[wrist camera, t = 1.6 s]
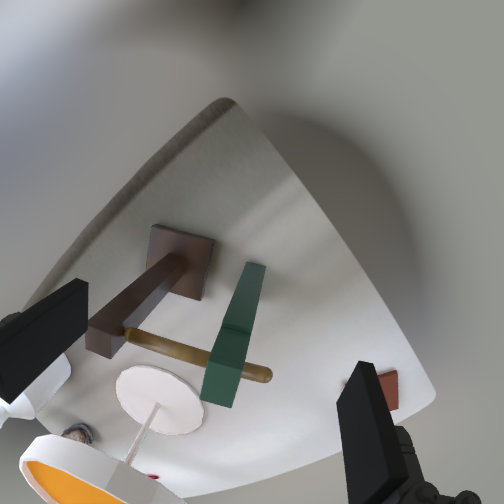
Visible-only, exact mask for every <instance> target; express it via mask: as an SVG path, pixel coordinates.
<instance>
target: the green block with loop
mask: <svg viewBox="0 0 504 504" xmlns="http://www.w3.org/2000/svg"><path fill="white" fill-rule="evenodd" d="M265 268H266V266H262V265H258V264H254V263H251V262H246V265H245V267H244V270H243V272H242V275H241V277H240V280H239V282H238V284H237V287H236V289H235V292H234V294H233V297H232V299H231V302H230V304H229V307H228V309H227V312H226V314H225V316H224V319H223V321H222V326H221V329H220V331H219V333H218V336H217V338H216V341H215V343H214V346H213V348H212V351H211V353H210V356H209V358H208V361H207V366H206V370H205V375H204V380H203V384H202V389H201V394H200V398H199V399H200V400H203V401H206V402H210V403H213V404H217V405H221V406H224V407H228V408H232V404H233V401H234V398H235V395H236V391H237V388H238V385H239V382H240V378H241V375H242V372H243V368H244V363H245V359H246V354H247V350H248V345H249V341H250V336H251V332H252V329H253V324H254V320H255V315H256V310H257V306H258V301H259V296H260V292H261V287H262V282H263V278H264V273H265Z"/></svg>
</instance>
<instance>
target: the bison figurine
mask: <svg viewBox="0 0 504 504" xmlns="http://www.w3.org/2000/svg"><path fill="white" fill-rule="evenodd" d="M63 433H64V434H62V435H61V436H60V437H64V438H67V439H71V440H75V441H79V442H82V443H84V444H85V442H86V443H87V444H88V443H89V444H91V443H93V436H92V433H91V431H90V430H89V429H88V428H87V426H86V425H83V424H78V425H73V426H71V427H69V428H68V429H66V430H64V432H63Z"/></svg>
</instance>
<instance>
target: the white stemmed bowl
mask: <svg viewBox="0 0 504 504" xmlns="http://www.w3.org/2000/svg"><path fill="white" fill-rule="evenodd" d="M116 395H117V397H118V399H119V401H120V403H121V405H122V407H123V408H124V410H125V411H126V412H127V413H128V414H129V415H130V416H131V417H132V418H133V419H134V420H136V421H137V422H139V423H140V424H142V427H141V429H140V431H139V433H138V435H137V436H136V438H135V440H134V442H133V444H132V446H131V448H130V450H129V452H128V454H127V455H126V457H125V459H124V461H121V460H119V459H116V458H114V457H112V456H110V455H107V454H105V453H103V452H101V451H98V450H96V449H94V448H92V447H90V446H88V445H86V444H84V443H82V442H79V441H75V440H71V439H67V438H64V437H60V436H57V435H53V434H50V435H45V436H40V437H36V439H35V440H34V441H33V442H32V444H31V445H30V446H29V447H28V449H27V450H26V451H25V453H24V454H23V455H22V456H21V458H20V465H19V469H20V470H21V472H22V474H23V475H24V477H25V479H26V480H27V482H28V483H29V485H30V486H31V487H32V488H33V489H34V490H35V491H36V492H37V493H38V494H39V495H40V496H41V497H42V498H43V499H44V500H45V501H46V502H47V503H48V504H188V503H186V502H185V501H183V500H182V499H181V498H179V497H178V496H177V495H175V494H174V493H173V492H171V491H170V490H169V489H167V488H166V487H165V486H163V485H162V484H161V483H159V482H158V481H156V480H154V479H152V478H150V477H148V476H146V475H145V474H143V473H141V472H139V471H138V470H136V469H134V468H132V467H131V466H130V465H131V463H132V461H133V459H134V457H135V455H136V453H137V451H138V449H139V447H140V445H141V443H142V441H143V439H144V437H145V435H146V433H147V431H148V429H151V430H154V431H157V432H160V433H163V434H170V435H182V434H186V433H190V432H193V431H194V430H195V429H196V428H197V427H198V426H199V425H200V424H201V423H202V418H203V414H204V408H203V405H202V402H201V400H200V399H199V398H200V397H199V395H198V394H197V393H196V392H195V391H194V390H193V389H192V387H191V386H190V385H189V384H188V383H187V382H185V381H184V380H182V379H181V378H179V377H178V376H176V375H175V374H173V373H172V372H170V371H167V370H163V369H160V368H158V367H155V366H143V365H135V366H133V367H130V368H128V369H126V370H124V371H123V372H122V373H121V375H120V376H119V378H118V380H117V381H116Z"/></svg>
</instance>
